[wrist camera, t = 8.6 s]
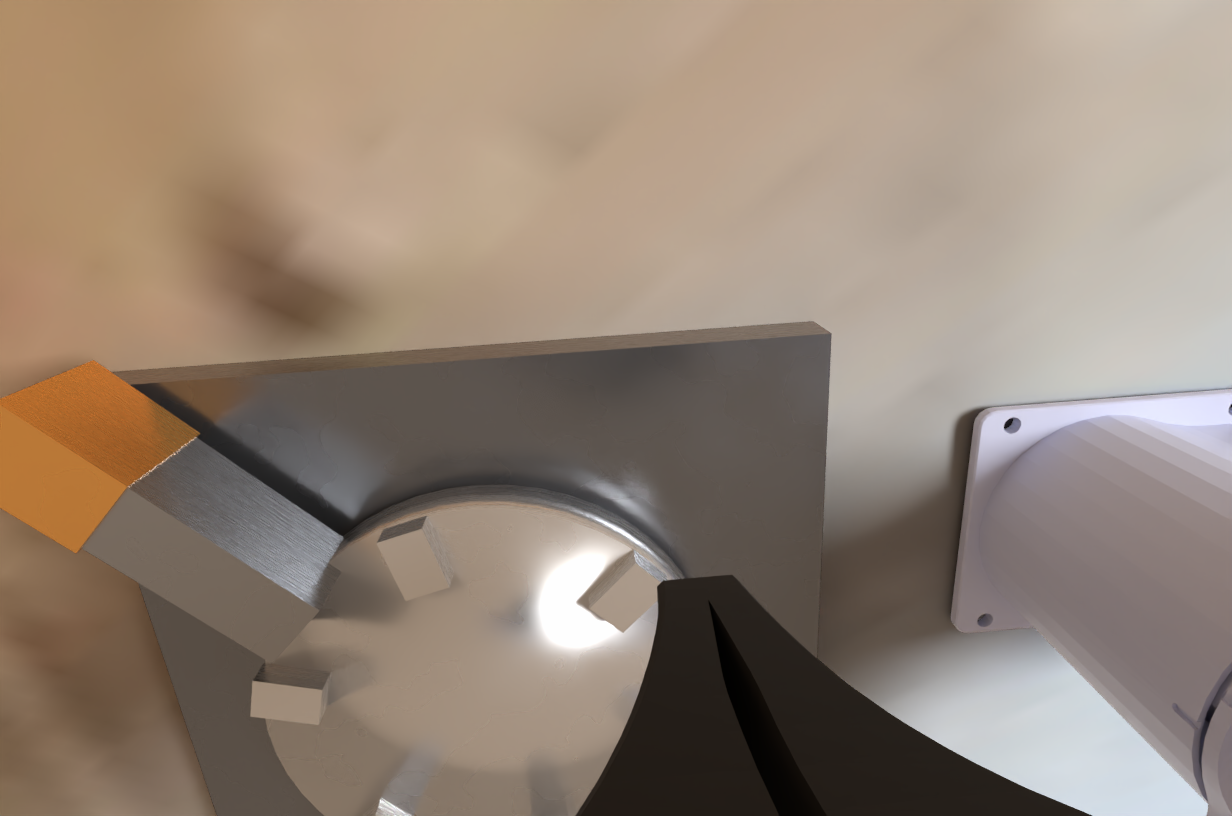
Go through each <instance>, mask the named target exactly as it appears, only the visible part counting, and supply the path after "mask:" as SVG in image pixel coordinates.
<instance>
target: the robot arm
mask: <svg viewBox="0 0 1232 816" xmlns="http://www.w3.org/2000/svg"><path fill="white" fill-rule="evenodd" d="M1231 404H1232V389H1224V390H1211V391H1198V392H1185V393H1172V394H1159V395H1146V396H1133V397H1120V398H1107V399H1094V400H1081V401H1068V402H1055V403H1042V404H1029V405H1016V406H1003V407H991V408H987V409H985V410H983V411H982V412H980V413H979V414H978V416H977V417H976V419H975V422H974V426H973V434H972V443H971V451H970V459H969V468H968V476H967V484H966V493H965V501H964V509H963V518H962V526H961V534H960V543H959V551H958V559H957V568H956V576H955V584H954V593H953V601H952V609H951V622H952V623H953V624H954V626H955V627H956V628H957V629H958V630H959V631H961V632H962V633H975V632H986V631H998V630H1009V629H1020V628H1032V627H1034V628H1035V629H1036V630H1037V631H1038V632H1039V633H1040V634H1041V635H1042V636H1043V637H1044V638H1045V639H1046V640H1047V641H1048V642H1049V643H1050V644H1051V645H1052V646H1053V647H1054V648H1055V649H1056V650H1057V651H1058V652H1059V653H1060V654H1061V655H1062V656H1063V657H1064V658H1065V659H1066V660H1067V661H1068V662H1069V663H1070V664H1071V665H1072V666H1073V667H1074V668H1075V670H1076V671H1077V672H1078V673H1079V674H1080V675H1081V676H1082V677H1083V678H1084V679H1085V680H1086V681H1087V682H1088V683H1089V684H1090V685H1091V686H1092V687H1093V688H1094V689H1095V690H1096V691H1097V692H1098V693H1099V694H1100V695H1101V696H1102V697H1103V698H1104V699H1105V700H1106V701H1107V702H1108V703H1109V704H1110V705H1111V706H1112V707H1113V708H1114V709H1115V710H1116V711H1117V712H1118V713H1119V714H1120V715H1121V716H1122V717H1123V718H1124V719H1125V720H1126V721H1127V722H1128V723H1129V724H1130V725H1131V726H1132V727H1133V728H1134V729H1135V730H1136V731H1137V732H1138V733H1139V734H1140V735H1141V736H1142V737H1143V738H1144V740H1145V741H1146V742H1147V743H1148V744H1149V745H1150V746H1151V747H1152V748H1153V749H1154V750H1155V751H1156V752H1157V753H1158V754H1159V755H1160V756H1161V757H1162V758H1163V759H1164V760H1165V761H1166V762H1167V763H1168V764H1169V765H1170V766H1171V767H1172V768H1173V769H1174V770H1175V771H1176V772H1177V773H1178V774H1179V775H1180V776H1181V777H1182V778H1183V779H1184V780H1185V781H1186V782H1187V783H1188V784H1189V785H1190V786H1191V787H1192V788H1193V789H1194V790H1195V791H1196V792H1197V793H1198V794H1199V795H1200V796H1201V797H1202V798H1203V799H1204V800H1205V801H1206V802H1207V803H1208V812H1207V815H1206V816H1232V408H1231V409H1229V407H1230V405H1231ZM1010 418H1013V422H1012V425H1011V426H1009V427H1008V428H1006V429H1004V424H1005V422H1006V421H1007V420H1008V419H1010ZM657 600H658V619H657V626H656V632H655V636H654V641H653V645H652V650H651V654H650V658H649V662H648V665H647V668H646V671H645V674H644V678H643V681H642V684H641V687H640V690H639V693H638V696H637V699H636V701H635V704H634V706H633V709H632V711H631V714H630V716H629V719H628V721H627V723H626V726H625V728H624V730H623V732H622V735H621V737H620V739H619V741H618V743H617V745H616V747H615V749H614V751H613V753H612V755H611V757H610V759H609V761H608V763H607V765H606V766H605V768H604V770H603V772H602V774H601V776H600V777H599V779H598V781H597V783H596V784H595V786H594V787H593V789H592V791H591V792H590V794H589V795H588V797H587V798H586V800H585V802H584V803H583V805H582V806H581V808H580V809H579V811H578V813H577V814H576V816H1092V815H1089V814H1087V813H1085V812H1082V811H1080V810H1077V809H1075V808H1073V807H1070V806H1068V805H1065V804H1063V803H1061V802H1058V801H1056V800H1053V799H1051V798H1048V797H1046V796H1044V795H1041V794H1039V793H1036V792H1034V791H1032V790H1029V789H1027V788H1025V787H1023V786H1021V785H1018V784H1016V783H1014V782H1012V781H1010V780H1008V779H1006V778H1004V777H1002V776H1000V775H998V774H996V773H994V772H992V771H990V770H988V769H986V768H984V767H982V766H980V765H977V764H976V763H974V762H972V761H970V760H968V759H966V758H964V757H962V756H961V755H959V754H957V753H955V752H953V751H951V750H949V749H948V748H946V747H944V746H942V745H941V744H939V743H937V742H936V741H934V740H932V739H930V738H929V737H927V736H925V735H924V734H922V733H920V732H919V731H917V730H915V729H913V728H912V727H910V726H908V725H907V724H905V723H904V722H902V721H901V720H899V719H897V718H896V717H894V716H893V715H891V714H890V713H888V712H887V711H885V710H884V709H882V708H881V707H880V706H878V705H877V704H875V703H874V702H872V701H871V700H870V699H868V698H867V697H865V696H864V695H862V694H861V693H860V692H858V691H857V690H855V689H854V688H853V687H851V686H850V685H849V684H847V683H846V682H845V681H843V680H842V679H841V678H840V677H838V676H837V675H836V674H835V673H834V672H832V671H831V670H830V669H829V668H828V667H826V666H825V665H824V664H823V663H822V662H821V661H819V660H818V659H817V658H816V657H815V656H814V655H813V654H811V653H810V652H809V651H808V650H807V649H806V648H805V647H804V646H803V645H802V644H801V643H799V642H798V641H797V640H796V639H795V638H794V637H793V636H792V635H791V634H790V633H789V632H788V631H787V630H786V629H785V628H784V627H783V626H782V625H781V624H780V623H779V622H778V621H776V620H775V619H774V618H773V616H772V615H771V614H770V613H769V612H768V611H767V610H766V609H765V608H764V607H763V606H762V605H761V604H760V603H759V602H758V601H757V600H756V599H755V598H754V597H753V596H752V594H751V593H750V592H749V591H748V590H747V589H746V588H745V587H744V586H743V585H742V584H741V582H740V581H739V580H738V579H737V578H735V577H734V576H733V575H722V576H710V577H698V578H686V579H674V580H663V581H662V582H661V583H660V584H659V585H658V586H657ZM983 614H986V615H985V616H984V617H983V618H982V619H978V618H979V617H980V616H981V615H983Z"/></svg>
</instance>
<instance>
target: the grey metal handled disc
mask: <svg viewBox="0 0 1232 816" xmlns="http://www.w3.org/2000/svg"><path fill="white" fill-rule="evenodd" d="M199 434H200V433H199V432H198V431H196V430H195V429H193V428H192V427H190V426H189V425H188V424H186V423H185V422H183V421H182V420H180V419H179V418H177V417H176V416H174V415H173V414H171V413H170V412H169V411H167V410H166V409H164V408H163V407H161V406H160V405H158V404H157V403H155V402H154V401H152V400H151V399H150V398H148V397H147V396H145V395H144V394H142V393H141V392H139V391H138V390H136V389H135V388H133V387H132V386H131V385H129V384H128V383H126V382H125V381H123V380H122V379H120V378H119V377H117V376H116V375H114V374H113V373H112V372H110V371H109V370H107V369H106V368H104V367H103V366H101V365H100V364H98V363H97V362H95V361H94V360H93V361H90V362H88V363H86V364H83V365H81V366H78V367H76V368H74V369H71V370H69V371H66V372H64V373H62V374H59V375H57V376H54V377H52V378H49V379H47V380H45V381H42V382H40V383H37V384H35V385H33V386H30V387H28V388H25V389H23V390H21V391H18V392H16V393H13V394H11V395H9V396H6V397H4V398H1V399H0V508H1V509H3V510H4V511H6V512H8V513H9V514H11V515H13V516H14V517H16V518H18V519H19V520H21V521H23V522H24V523H26V524H28V525H29V526H31V527H33V528H34V529H36V530H38V531H39V532H41V533H43V534H44V535H46V536H48V537H49V538H51V539H53V540H54V541H56V542H58V543H59V544H61V545H63V546H64V547H66V548H68V549H69V550H71V551H73V552H74V553H77V552H78V551H80V550H81V549H83V550H85V551H87V552H88V553H90V554H91V555H93V556H95V557H96V558H98V559H100V560H101V561H103V562H105V563H106V564H108V565H110V566H111V567H113V568H115V569H116V570H118V571H120V572H121V573H123V574H125V575H126V576H128V577H129V578H131V579H133V580H134V581H136V582H138V583H139V584H141V585H143V586H144V587H146V588H148V589H149V590H151V591H153V592H154V593H156V594H158V595H159V596H161V597H163V598H164V599H166V600H167V601H169V602H171V603H172V604H174V605H176V606H177V607H179V608H181V609H182V610H184V611H186V612H187V613H189V614H191V615H192V616H194V617H196V618H197V619H199V620H201V621H202V622H204V623H206V624H207V625H209V626H210V627H212V628H214V629H215V630H217V631H219V632H220V633H222V634H224V635H225V636H227V637H229V638H230V639H232V640H234V641H235V642H237V643H239V644H240V645H242V646H244V647H245V648H247V649H248V650H250V651H252V652H253V653H255V654H257V655H258V656H260V657H262V658H263V659H265V663H263V665H262V666H261V668H260V670H259V671H258V673H257V674H256V676H255V678H254V679H253V681H252V697H251V713H250V717H258V718H265V720H266V725H267V730H268V733H269V736H270V738H271V741H272V744H273V747H274V750H275V752H276V754H277V756H278V758H279V760H280V761H281V763H282V765H283V767H284V769H285V771H286V773H287V774H288V776H289V777H290V778H291V780H292V781H293V782H294V784H295V785H296V786H297V788H298V789H299V790H300V792H301V793H302V794H303V795H304V796H305V797H306V798H307V799H308V800H309V801H310V802H311V803H312V804H313V805H314V806H315V808H316V809H317V810H318V811H319V812H321V813H322V814H323V815H324V816H576V814H577V813H578V811H579V809H580V808H581V806H582V805H583V803H584V802H585V800H586V798H587V797H588V795H589V794H590V792H591V791H592V789H593V787H594V786H595V784H596V783H597V781H598V779H599V777H600V776H601V774H602V772H603V770H604V768H605V766H606V765H607V763H608V761H609V759H610V757H611V755H612V753H613V751H614V749H615V747H616V745H617V743H618V741H619V739H620V737H621V735H622V732H623V730H624V728H625V726H626V723H627V721H628V719H629V716H630V714H631V711H632V709H633V706H634V704H635V701H636V699H637V696H638V693H639V690H640V687H641V684H642V681H643V678H644V674H645V671H646V668H647V665H648V662H649V658H650V654H651V650H652V645H653V641H654V636H655V632H656V626H657V619H658V600H657V586H658V585H659V584H660V583H661V582H662V581H663V580H674V579H685V577H684V576H683V574H682V572H681V571H680V570H679V569H678V567H677V566H676V565H675V564H674V563H673V561H672V560H671V559H670V558H669V556H668V555H667V554H666V553H665V552H664V551H663V550H662V549H661V548H660V547H659V546H658V545H657V544H655V543H654V542H653V541H652V540H651V539H650V538H649V537H648V536H647V535H646V534H644V533H643V532H641V531H640V530H639V529H637V528H636V527H634V526H633V525H631V524H630V523H628V522H627V521H625V520H624V519H622V518H621V517H619V516H617V515H615V514H613V513H611V512H609V511H607V510H605V509H603V508H601V507H599V506H597V505H595V504H592V503H590V502H587V501H584V500H581V499H579V498H576V497H573V496H570V495H567V494H563V493H559V492H554V491H550V490H546V489H541V488H535V487H526V486H517V485H472V486H464V487H456V488H448V489H443V490H440V491H436V492H432V493H428V494H424V495H420V496H416V497H414V498H411V499H409V500H406V501H403V502H401V503H398V504H396V505H393V506H390V507H388V508H387V509H385V510H383V511H381V512H379V513H377V514H376V515H374V516H372V517H370V518H368V519H366V520H365V521H363V522H362V523H360V524H359V525H358V526H356V527H355V528H354V529H352V530H351V531H350V532H348V533H347V534H345V535H344V536H343V537H342V536H340V535H339V534H337V533H336V532H335V531H333V530H332V529H330V528H329V527H327V526H326V525H324V524H323V523H321V522H320V521H318V520H317V519H315V518H314V517H313V516H311V515H310V514H308V513H307V512H305V511H304V510H302V509H301V508H299V507H298V506H296V505H295V504H293V503H292V502H291V501H289V500H288V499H286V498H285V497H283V496H282V495H280V494H279V493H277V492H276V491H274V490H273V489H271V488H270V487H268V486H267V485H266V484H264V483H263V482H261V481H260V480H258V479H257V478H255V477H254V476H252V475H251V474H249V473H248V472H246V471H245V470H244V469H242V468H241V467H239V466H238V465H236V464H235V463H233V462H232V461H230V460H229V459H227V458H226V457H224V456H223V455H222V454H220V453H219V452H217V451H216V450H214V449H213V448H211V447H210V446H208V445H207V444H205V443H204V442H202V441H201V440H200V439H198V438H197V437H198V436H199Z"/></svg>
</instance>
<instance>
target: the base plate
mask: <svg viewBox="0 0 1232 816" xmlns="http://www.w3.org/2000/svg"><path fill="white" fill-rule="evenodd" d="M830 355H831V333H830V332H828V331H827V330H825V329H824V328H823V327H821V326H820V325H818V324H817V323H815V322H814V321H813V322H799V323H785V324H771V325H758V326H744V327H730V328H716V329H702V330H688V331H675V332H661V333H647V334H633V335H619V336H605V337H592V338H578V339H564V340H550V341H536V342H522V343H509V344H495V345H481V346H467V347H453V348H439V349H426V350H412V351H398V352H384V353H370V354H356V355H342V356H329V357H315V358H301V359H287V360H273V361H259V362H246V363H232V364H218V365H204V366H190V367H176V368H163V369H149V370H135V371H121V372H112V373H113V374H114V375H116V376H117V377H119V378H120V379H122V380H123V381H125V382H126V383H128V384H129V385H131V386H132V387H133V388H135V389H136V390H138V391H139V392H141V393H142V394H144V395H145V396H147V397H148V398H150V399H151V400H152V401H154V402H155V403H157V404H158V405H160V406H161V407H163V408H164V409H166V410H167V411H169V412H170V413H171V414H173V415H174V416H176V417H177V418H179V419H180V420H182V421H183V422H185V423H186V424H188V425H189V426H190V427H192V428H193V429H195V430H196V431H198V432H199V433H200V434H199V436H198V437H197V438H198V439H200V440H201V441H202V442H204V443H205V444H207V445H208V446H210V447H211V448H213V449H214V450H216V451H217V452H219V453H220V454H222V455H223V456H224V457H226V458H227V459H229V460H230V461H232V462H233V463H235V464H236V465H238V466H239V467H241V468H242V469H244V470H245V471H246V472H248V473H249V474H251V475H252V476H254V477H255V478H257V479H258V480H260V481H261V482H263V483H264V484H266V485H267V486H268V487H270V488H271V489H273V490H274V491H276V492H277V493H279V494H280V495H282V496H283V497H285V498H286V499H288V500H289V501H291V502H292V503H293V504H295V505H296V506H298V507H299V508H301V509H302V510H304V511H305V512H307V513H308V514H310V515H311V516H313V517H314V518H315V519H317V520H318V521H320V522H321V523H323V524H324V525H326V526H327V527H329V528H330V529H332V530H333V531H335V532H336V533H337V534H339V535H340V536H342V537H343V536H344V535H345V534H347V533H348V532H350V531H351V530H352V529H354V528H355V527H356V526H358V525H359V524H360V523H362V522H363V521H365V520H366V519H368V518H370V517H372V516H374V515H376V514H377V513H379V512H381V511H383V510H385V509H387V508H388V507H390V506H393V505H396V504H398V503H401V502H403V501H406V500H409V499H411V498H414V497H416V496H420V495H424V494H428V493H432V492H436V491H440V490H443V489H448V488H456V487H464V486H472V485H517V486H526V487H535V488H541V489H546V490H550V491H554V492H559V493H563V494H567V495H570V496H573V497H576V498H579V499H581V500H584V501H587V502H590V503H592V504H595V505H597V506H599V507H601V508H603V509H605V510H607V511H609V512H611V513H613V514H615V515H617V516H619V517H621V518H622V519H624V520H625V521H627V522H628V523H630V524H631V525H633V526H634V527H636V528H637V529H639V530H640V531H641V532H643V533H644V534H646V535H647V536H648V537H649V538H650V539H651V540H652V541H653V542H654V543H655V544H657V545H658V546H659V547H660V548H661V549H662V550H663V551H664V552H665V553H666V554H667V555H668V556H669V558H670V559H671V560H672V561H673V563H674V564H675V565H676V566H677V567H678V569H679V570H680V571H681V572H682V574H683V576H684V577H685V579H686V578H698V577H710V576H722V575H733V576H734V577H735V578H737V579H738V580H739V581H740V582H741V584H742V585H743V586H744V587H745V588H746V589H747V590H748V591H749V592H750V593H751V594H752V596H753V597H754V598H755V599H756V600H757V601H758V602H759V603H760V604H761V605H762V606H763V607H764V608H765V609H766V610H767V611H768V612H769V613H770V614H771V615H772V616H773V618H774V619H775V620H776V621H778V622H779V623H780V624H781V625H782V626H783V627H784V628H785V629H786V630H787V631H788V632H789V633H790V634H791V635H792V636H793V637H794V638H795V639H796V640H797V641H798V642H799V643H801V644H802V645H803V646H804V647H805V648H806V649H807V650H808V651H809V652H810V653H811V654H813V655H814V656H815V657H816V658H817V646H818V624H819V602H820V579H821V557H822V534H823V512H824V489H825V467H826V445H827V422H828V400H829V377H830ZM138 584H139V583H138ZM139 587H140V590H141V592H142V595H143V598H144V601H145V604H146V607H147V610H148V613H149V616H150V619H151V622H152V625H153V628H154V631H155V634H156V637H157V640H158V643H159V646H160V649H161V652H162V655H163V658H164V661H165V663H166V666H167V669H168V672H169V675H170V678H171V681H172V684H173V687H174V690H175V693H176V696H177V699H178V702H179V705H180V708H181V711H182V714H183V717H184V720H185V723H186V726H187V729H188V731H189V734H190V737H191V740H192V743H193V746H194V749H195V752H196V755H197V758H198V761H199V764H200V767H201V770H202V773H203V776H204V779H205V782H206V785H207V788H208V791H209V794H210V797H211V800H212V802H213V805H214V808H215V811H216V814H217V816H324V815H323V814H322V813H321V812H319V811H318V810H317V809H316V808H315V806H314V805H313V804H312V803H311V802H310V801H309V800H308V799H307V798H306V797H305V796H304V795H303V794H302V793H301V792H300V790H299V789H298V788H297V786H296V785H295V784H294V782H293V781H292V780H291V778H290V777H289V776H288V774H287V773H286V771H285V769H284V767H283V765H282V763H281V761H280V760H279V758H278V756H277V754H276V752H275V750H274V747H273V744H272V741H271V738H270V736H269V733H268V730H267V725H266V720H265V718H258V717H250V713H251V697H252V681H253V679H254V678H255V676H256V674H257V673H258V671H259V670H260V668H261V666H262V665H263V663H265V659H263V658H262V657H260V656H258V655H257V654H255V653H253V652H252V651H250V650H248V649H247V648H245V647H244V646H242V645H240V644H239V643H237V642H235V641H234V640H232V639H230V638H229V637H227V636H225V635H224V634H222V633H220V632H219V631H217V630H215V629H214V628H212V627H210V626H209V625H207V624H206V623H204V622H202V621H201V620H199V619H197V618H196V617H194V616H192V615H191V614H189V613H187V612H186V611H184V610H182V609H181V608H179V607H177V606H176V605H174V604H172V603H171V602H169V601H167V600H166V599H164V598H163V597H161V596H159V595H158V594H156V593H154V592H153V591H151V590H149V589H148V588H146V587H144V586H143V585H141V584H139Z"/></svg>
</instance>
